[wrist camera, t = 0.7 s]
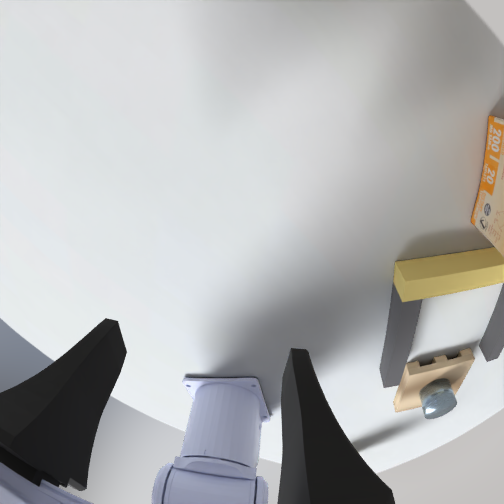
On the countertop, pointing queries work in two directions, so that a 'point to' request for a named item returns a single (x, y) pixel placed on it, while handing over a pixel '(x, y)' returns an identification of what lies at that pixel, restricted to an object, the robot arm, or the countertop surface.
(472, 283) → the frame
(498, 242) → the supplement box
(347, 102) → the countertop surface
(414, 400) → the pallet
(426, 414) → the steel cylinder puck
